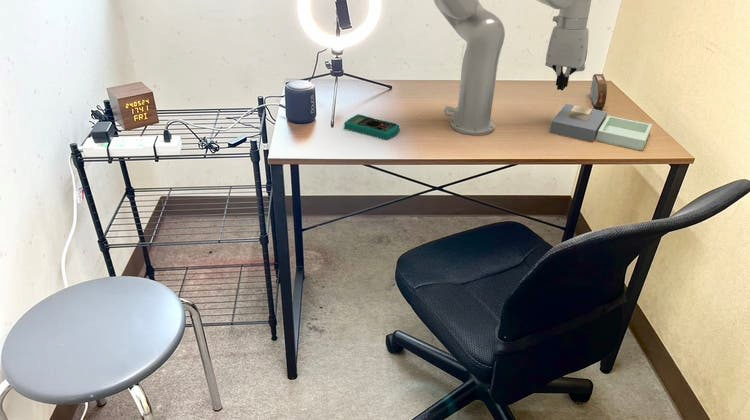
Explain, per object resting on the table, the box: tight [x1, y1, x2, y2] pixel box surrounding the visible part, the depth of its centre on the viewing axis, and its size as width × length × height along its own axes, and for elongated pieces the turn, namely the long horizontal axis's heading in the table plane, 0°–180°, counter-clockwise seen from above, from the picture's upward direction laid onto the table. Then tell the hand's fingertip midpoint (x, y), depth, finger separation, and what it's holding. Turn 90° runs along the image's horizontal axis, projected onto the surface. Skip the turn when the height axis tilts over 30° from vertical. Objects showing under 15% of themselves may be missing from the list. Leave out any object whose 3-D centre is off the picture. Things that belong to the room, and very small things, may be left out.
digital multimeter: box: [343, 113, 400, 141], centre depth 155 cm, size 7×15×3 cm, turn 59°
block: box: [569, 104, 593, 121], centre depth 158 cm, size 5×5×2 cm
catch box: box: [595, 115, 653, 152], centre depth 154 cm, size 12×13×3 cm
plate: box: [548, 103, 608, 143], centre depth 159 cm, size 12×16×4 cm
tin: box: [590, 73, 608, 109], centre depth 175 cm, size 15×3×8 cm, turn 168°
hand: (561, 88), depth 158 cm, fingers closed
